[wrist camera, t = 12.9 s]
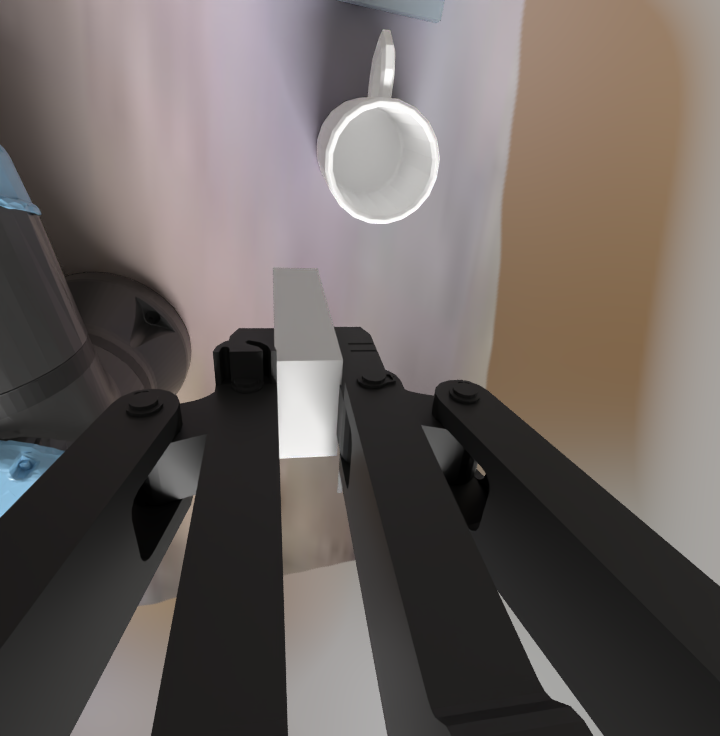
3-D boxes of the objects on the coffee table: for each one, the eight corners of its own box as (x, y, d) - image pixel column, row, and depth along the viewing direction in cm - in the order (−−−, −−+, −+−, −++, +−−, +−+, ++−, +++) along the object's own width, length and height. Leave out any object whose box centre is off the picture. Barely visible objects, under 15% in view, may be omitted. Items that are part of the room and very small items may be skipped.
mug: (419, 45, 37) (459, 30, 29) (402, 201, 43) (430, 226, 35) (319, 35, 36) (330, 15, 28) (315, 196, 42) (323, 221, 33)
